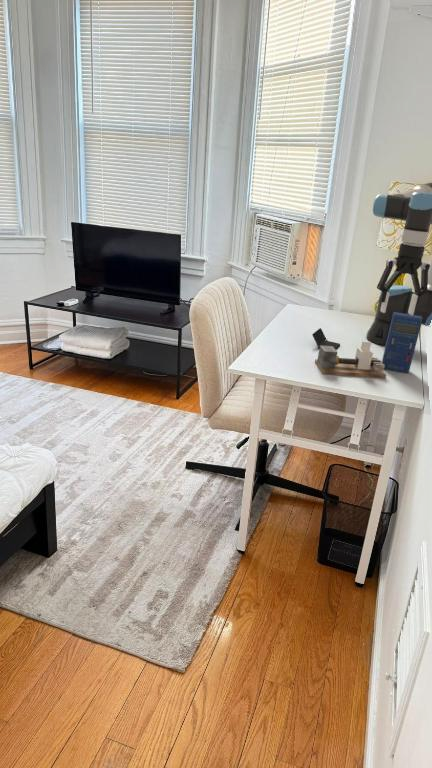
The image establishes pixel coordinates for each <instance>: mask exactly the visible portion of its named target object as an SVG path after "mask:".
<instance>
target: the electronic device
mask: <svg viewBox="0 0 432 768" xmlns="http://www.w3.org/2000/svg"><path fill="white" fill-rule="evenodd" d="M421 323H422V316H416V315H410V314H403V313H397V312H393V317H392V321H391V325H390V329H389V334H388V338H387V342H386V346H385V345H384V351H383V355H382V359H381V362H382V363H383V364H384V365H385V366H384V370H389V371H395V372H400V373H406V374H409V373H410V369H411V366H412V365H411V364H412V362H413V357H414V354H415V350H416V346H417V342H418V338H419V335H420V330H421V326H422V325H421Z"/></svg>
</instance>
